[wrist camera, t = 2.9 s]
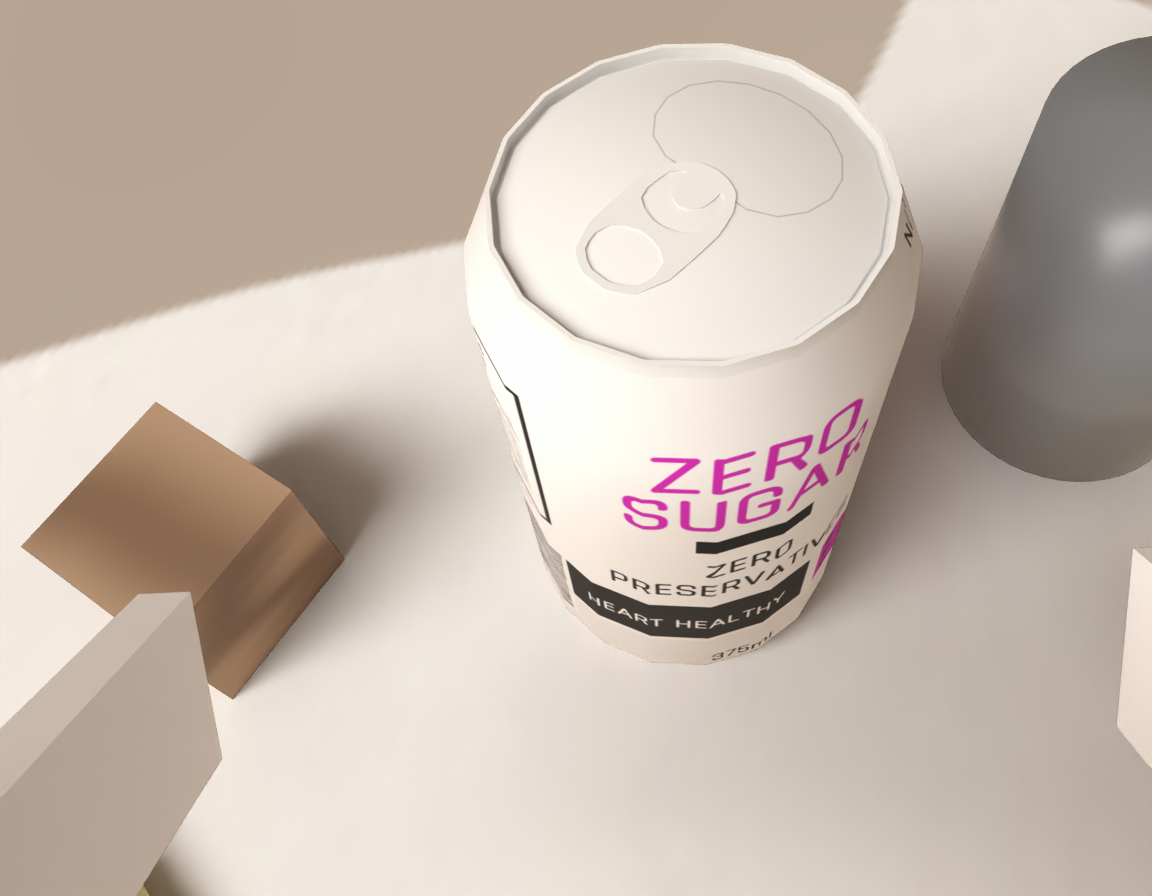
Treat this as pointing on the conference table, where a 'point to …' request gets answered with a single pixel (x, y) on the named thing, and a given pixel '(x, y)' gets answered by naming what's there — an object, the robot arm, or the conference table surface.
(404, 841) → the conference table surface
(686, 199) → the supplement can
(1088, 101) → the grey domed cylinder
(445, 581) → the conference table surface
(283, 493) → the walnut block
